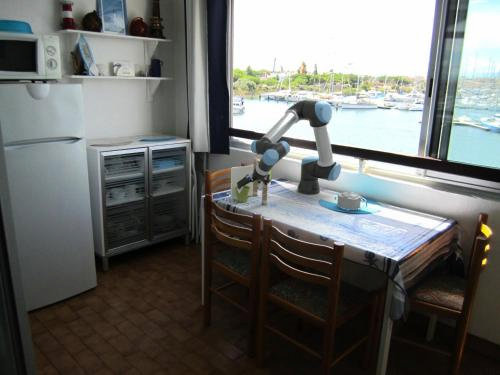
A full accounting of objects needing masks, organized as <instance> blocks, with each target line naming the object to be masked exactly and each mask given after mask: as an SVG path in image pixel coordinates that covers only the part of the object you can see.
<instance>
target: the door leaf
mask: <svg viewBox="0 0 500 375" xmlns="http://www.w3.org/2000/svg"><path fill="white" fill-rule="evenodd" d="M253 171H254V166H249V165H244V166H243V165H242V166H233V167H231V168H230V198H231V199H235V198H236V199H237V195H236V190H235V186H238V185H237V182H239V181H240V180H241V179H243V178H244V177H245V176H246V175H247V174H249V175H252V174H253ZM251 179H252V178H251ZM252 180H253V179H252ZM245 186H249V187H250V189H249V193H248V197H251V196H253V182H250V183H248V184H247V185H245ZM253 197H254V196H253Z"/></svg>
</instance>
